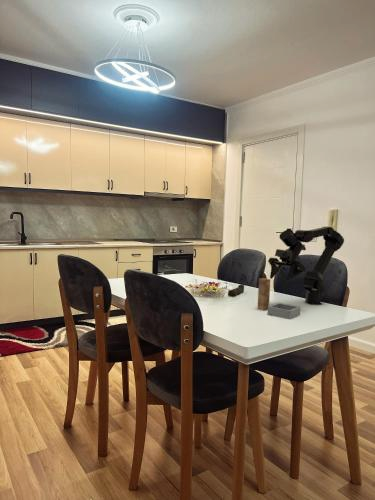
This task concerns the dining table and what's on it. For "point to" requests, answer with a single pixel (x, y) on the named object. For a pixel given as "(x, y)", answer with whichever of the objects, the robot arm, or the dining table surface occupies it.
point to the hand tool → (236, 291)
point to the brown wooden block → (263, 293)
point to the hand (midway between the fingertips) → (278, 279)
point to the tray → (284, 310)
